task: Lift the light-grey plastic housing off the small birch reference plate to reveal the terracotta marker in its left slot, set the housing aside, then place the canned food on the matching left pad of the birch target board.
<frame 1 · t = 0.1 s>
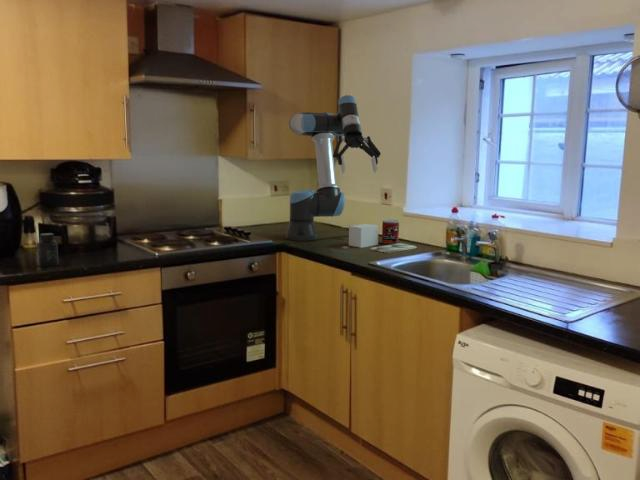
hand: (359, 171, 249), 36 cm above the table, tool tilted 35°, fingers open, 13 cm apart
supplement bottle: (48, 266, 230), on the table
reference plate: (363, 245, 283), on the table
canned food: (389, 244, 288), on the table
target board: (393, 248, 275), on the table
housing: (363, 245, 283), on the table
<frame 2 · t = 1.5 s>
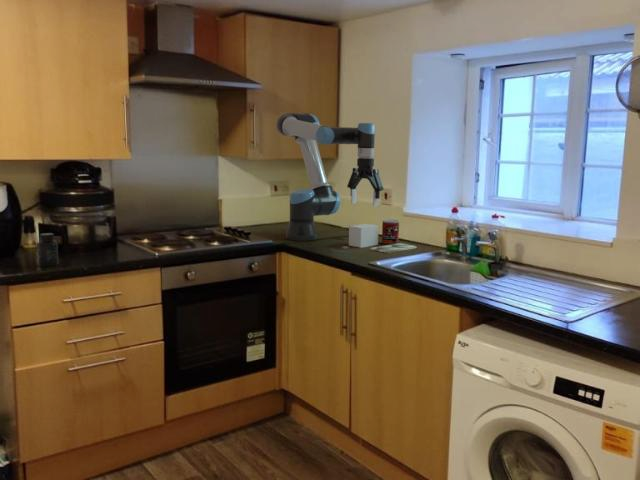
hand: (364, 204, 279), 19 cm above the table, tool pointing down, fingers open, 13 cm apart
nothing on the table moved.
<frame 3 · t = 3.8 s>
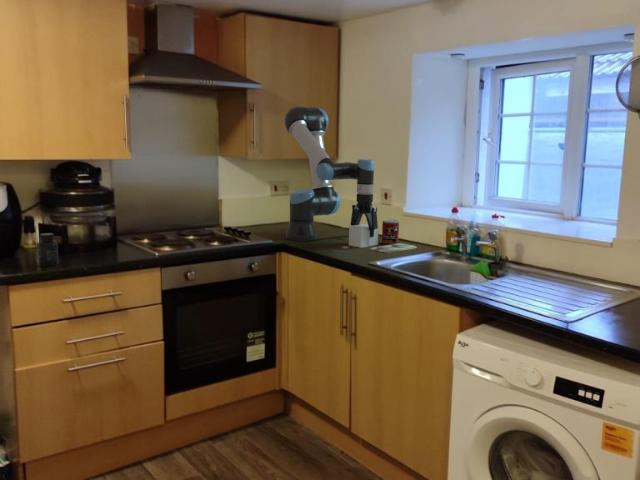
hand: (363, 242, 283), 1 cm above the table, tool pointing down, fingers closed on housing, 8 cm apart
housing: (363, 245, 283), on the table, touching gripper
everything else where it was.
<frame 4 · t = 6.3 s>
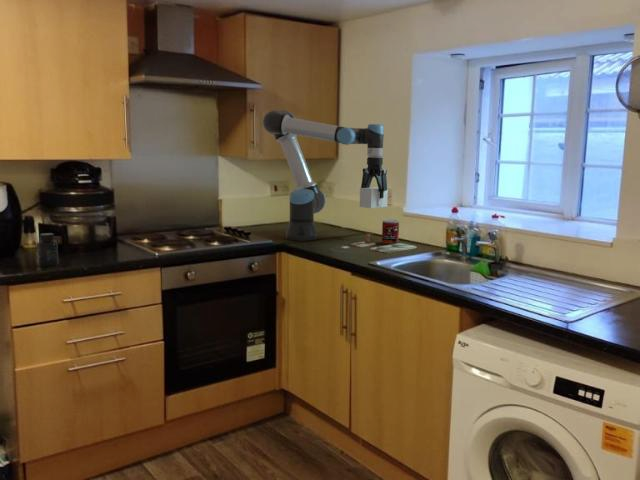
hand: (373, 204, 297), 17 cm above the table, tool pointing down, fingers closed on housing, 8 cm apart
housing: (373, 206, 297), point 16 cm above the table, touching gripper
everything else where it was.
when the fingers open (3 cm above the table, at t = 8.8 s): housing drops 2 cm, on the table.
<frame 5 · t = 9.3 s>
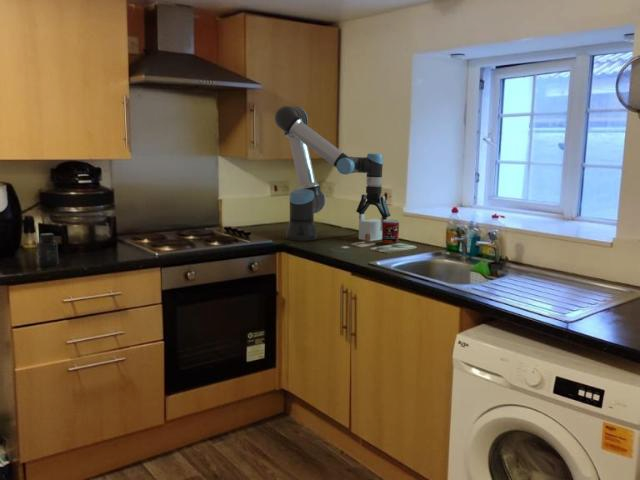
hand: (372, 229, 299), 5 cm above the table, tool pointing down, fingers open, 13 cm apart
housing: (372, 238, 300), on the table
everything else where it was.
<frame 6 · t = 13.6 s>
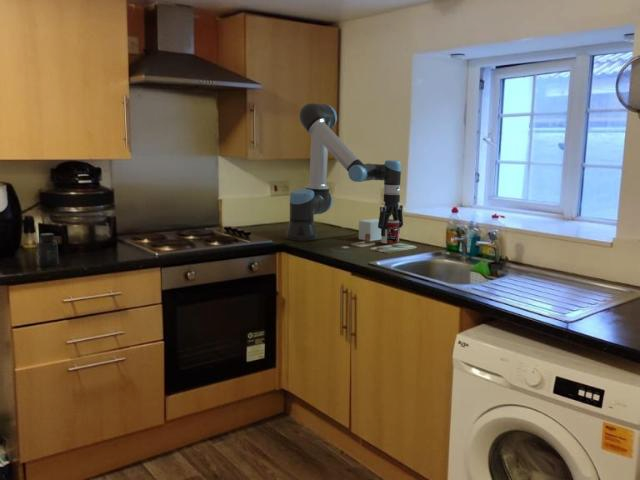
hand: (390, 241, 288), 1 cm above the table, tool pointing down, fingers closed on canned food, 8 cm apart
canned food: (390, 243, 288), on the table, touching gripper
everything else where it was.
when the fingers open (3 cm above the table, at t = 18.6 s): canned food drops 1 cm, resting on target board.
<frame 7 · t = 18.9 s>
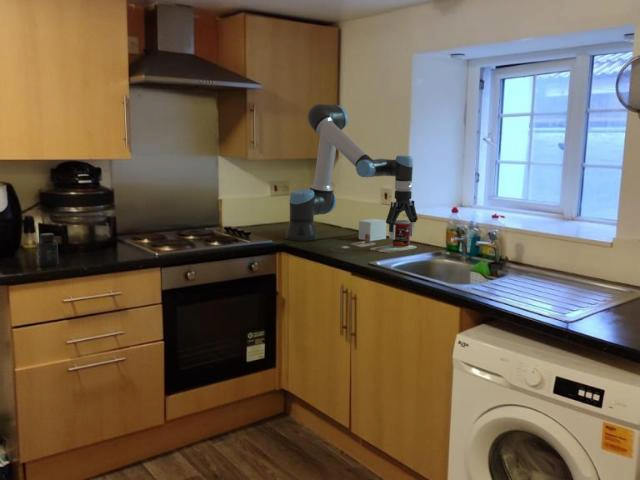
hand: (401, 237, 277), 5 cm above the table, tool pointing down, fingers open, 12 cm apart
canned food: (400, 245, 278), point 1 cm above the table, touching target board
everything else where it was.
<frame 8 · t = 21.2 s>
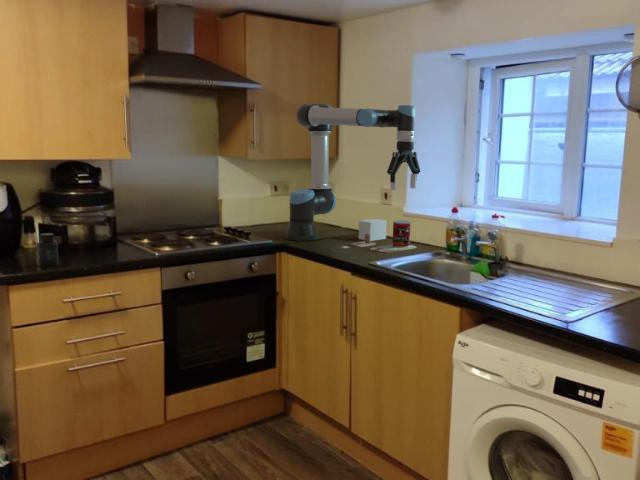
hand: (403, 189, 273), 27 cm above the table, tool pointing down, fingers open, 13 cm apart
nothing on the table moved.
at the end: canned food inside the target area (0.0 cm from its centre), point 0.9 cm above the table; canned food tilted 0°; housing moved 18.4 cm from its start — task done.
